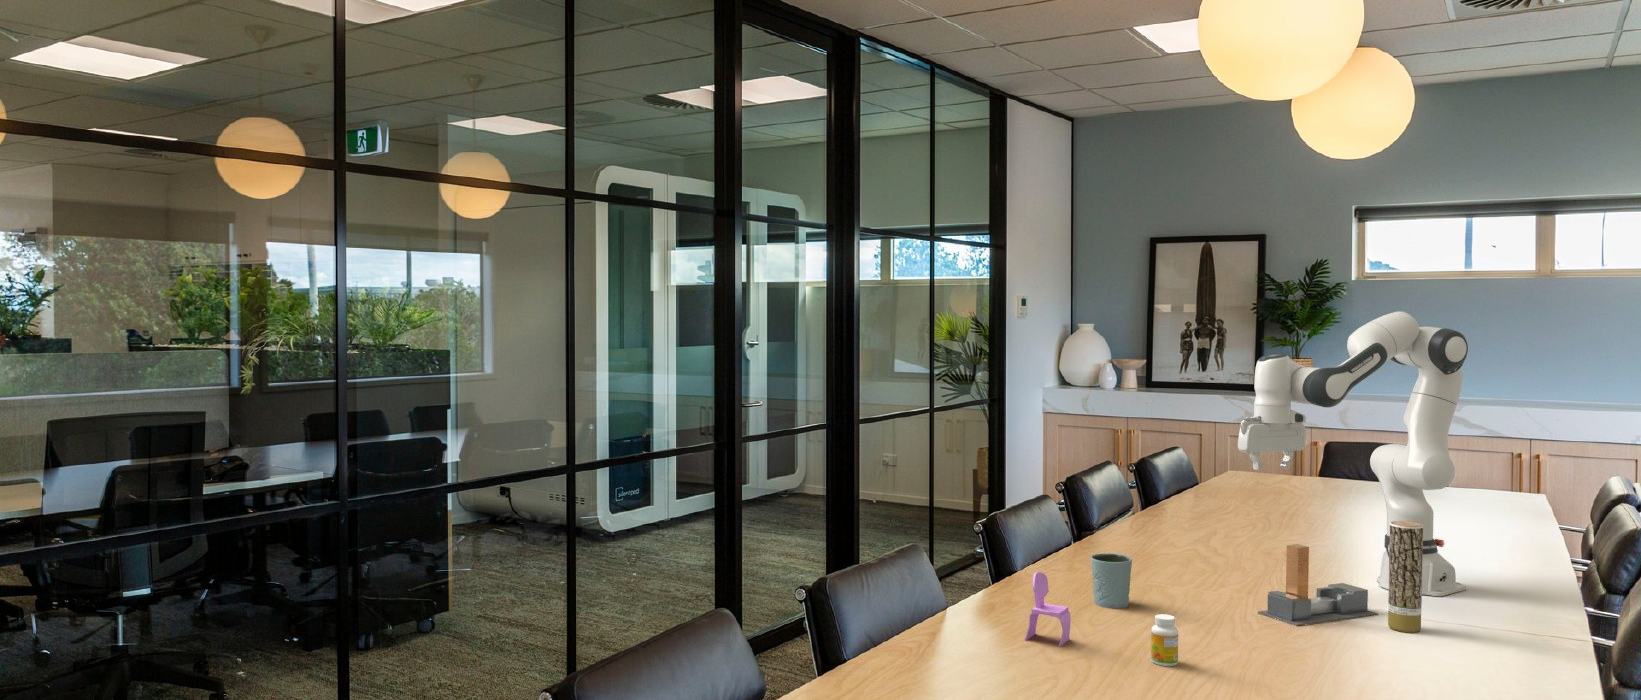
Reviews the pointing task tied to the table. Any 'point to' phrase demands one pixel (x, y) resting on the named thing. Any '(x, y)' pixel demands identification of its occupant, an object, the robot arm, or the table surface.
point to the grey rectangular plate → (1323, 617)
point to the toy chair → (1047, 609)
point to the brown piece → (1304, 579)
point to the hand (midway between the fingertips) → (1271, 468)
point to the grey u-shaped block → (1346, 597)
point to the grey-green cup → (1111, 579)
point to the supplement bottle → (1164, 641)
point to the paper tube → (1405, 576)
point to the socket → (1288, 606)
